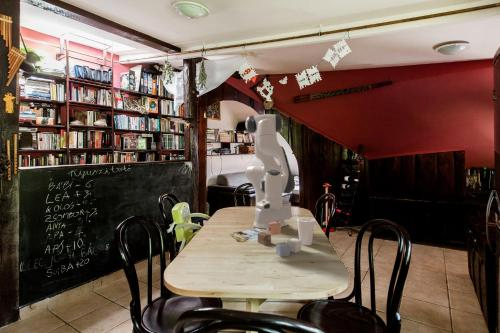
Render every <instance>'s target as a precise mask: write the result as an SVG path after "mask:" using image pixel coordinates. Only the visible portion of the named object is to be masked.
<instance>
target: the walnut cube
mask: <svg viewBox="0 0 500 333" xmlns="http://www.w3.org/2000/svg"><path fill="white" fill-rule="evenodd" d="M257 243H258V244H260V245H262V246H265V245H270V244H272V235H271V234H269V233H267V231H263V232H259V233H257Z"/></svg>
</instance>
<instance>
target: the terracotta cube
mask: <svg viewBox="0 0 500 333" xmlns="http://www.w3.org/2000/svg"><path fill="white" fill-rule="evenodd" d="M268 226H269V227H271V230H270V231H267V230H266V232H267V233H269V234H271V236H276V235H281V233H282V227H281V224H280V223H278V222H276V221H275V222H269V225H268Z"/></svg>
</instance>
